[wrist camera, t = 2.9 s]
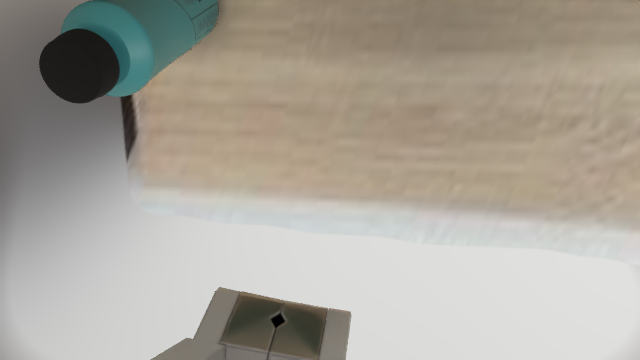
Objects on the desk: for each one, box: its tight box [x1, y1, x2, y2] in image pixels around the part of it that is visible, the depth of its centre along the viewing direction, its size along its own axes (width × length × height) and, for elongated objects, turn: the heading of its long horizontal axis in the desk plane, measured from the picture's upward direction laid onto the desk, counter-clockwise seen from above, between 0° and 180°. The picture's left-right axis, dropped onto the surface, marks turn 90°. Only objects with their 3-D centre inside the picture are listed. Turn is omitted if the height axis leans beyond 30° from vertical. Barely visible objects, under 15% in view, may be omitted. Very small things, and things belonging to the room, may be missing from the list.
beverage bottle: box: [39, 0, 219, 103], centre depth 40 cm, size 6×7×20 cm
